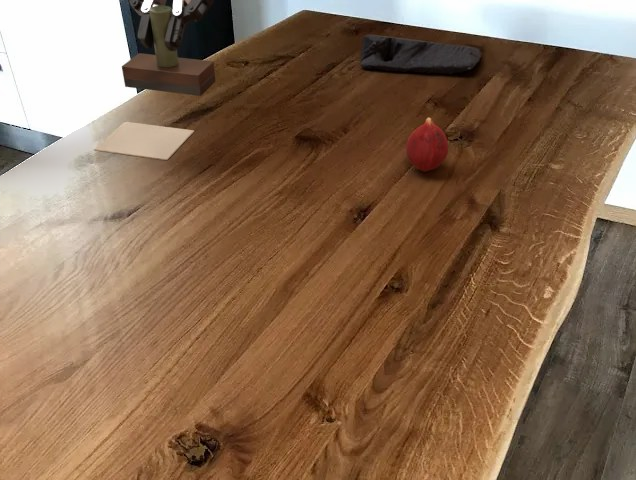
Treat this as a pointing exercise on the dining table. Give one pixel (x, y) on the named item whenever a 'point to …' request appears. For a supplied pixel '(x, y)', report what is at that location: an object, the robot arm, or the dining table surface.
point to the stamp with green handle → (167, 64)
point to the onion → (427, 146)
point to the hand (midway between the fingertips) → (157, 46)
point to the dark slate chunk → (416, 55)
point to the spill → (145, 140)
